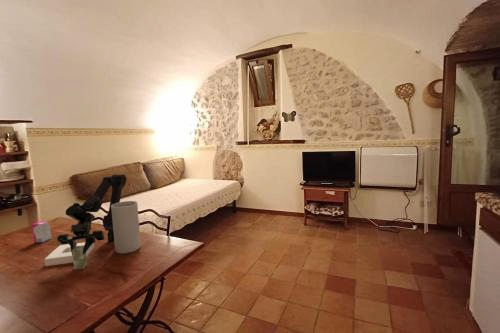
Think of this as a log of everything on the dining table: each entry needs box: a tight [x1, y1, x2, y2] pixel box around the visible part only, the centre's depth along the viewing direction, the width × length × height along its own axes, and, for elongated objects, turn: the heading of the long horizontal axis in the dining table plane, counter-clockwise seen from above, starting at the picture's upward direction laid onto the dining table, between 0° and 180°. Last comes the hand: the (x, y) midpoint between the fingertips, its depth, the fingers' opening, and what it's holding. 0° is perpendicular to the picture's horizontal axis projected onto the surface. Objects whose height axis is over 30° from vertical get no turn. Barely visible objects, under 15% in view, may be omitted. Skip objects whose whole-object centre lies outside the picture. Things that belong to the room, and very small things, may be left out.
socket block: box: [44, 241, 95, 267], centre depth 130 cm, size 16×16×4 cm
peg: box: [72, 245, 88, 270], centre depth 118 cm, size 4×4×10 cm
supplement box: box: [32, 220, 52, 244], centre depth 150 cm, size 6×6×12 cm
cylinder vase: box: [111, 200, 142, 255], centre depth 135 cm, size 12×12×25 cm
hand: (78, 254), depth 117 cm, fingers closed on peg, 4 cm apart
